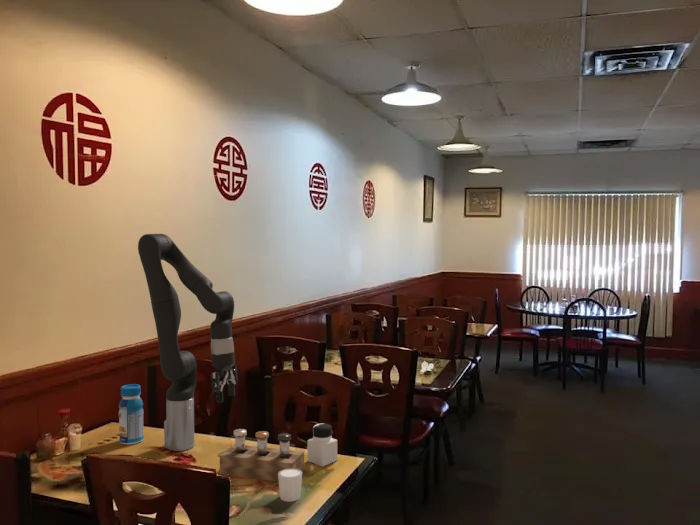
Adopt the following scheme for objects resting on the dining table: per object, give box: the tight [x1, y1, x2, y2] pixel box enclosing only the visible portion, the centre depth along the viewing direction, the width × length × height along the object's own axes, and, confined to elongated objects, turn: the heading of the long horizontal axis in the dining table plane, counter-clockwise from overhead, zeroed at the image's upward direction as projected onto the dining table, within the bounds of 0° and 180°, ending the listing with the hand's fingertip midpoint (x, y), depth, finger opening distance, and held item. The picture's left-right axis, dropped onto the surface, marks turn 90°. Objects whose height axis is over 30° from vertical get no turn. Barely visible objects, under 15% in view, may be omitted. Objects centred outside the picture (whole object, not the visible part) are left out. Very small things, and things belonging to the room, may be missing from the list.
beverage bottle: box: [118, 383, 145, 446], centre depth 213 cm, size 8×8×20 cm
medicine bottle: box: [306, 423, 338, 468], centre depth 194 cm, size 7×7×12 cm
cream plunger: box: [233, 428, 248, 454], centre depth 187 cm, size 4×4×7 cm
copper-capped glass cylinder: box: [255, 430, 270, 456], centre depth 185 cm, size 4×4×7 cm
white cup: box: [278, 469, 303, 503], centre depth 167 cm, size 7×7×7 cm
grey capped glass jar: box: [277, 432, 292, 459], centre depth 183 cm, size 4×4×7 cm
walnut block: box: [219, 444, 305, 483], centre depth 185 cm, size 24×10×6 cm, turn 74°
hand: (226, 399), depth 200 cm, fingers open, 8 cm apart
